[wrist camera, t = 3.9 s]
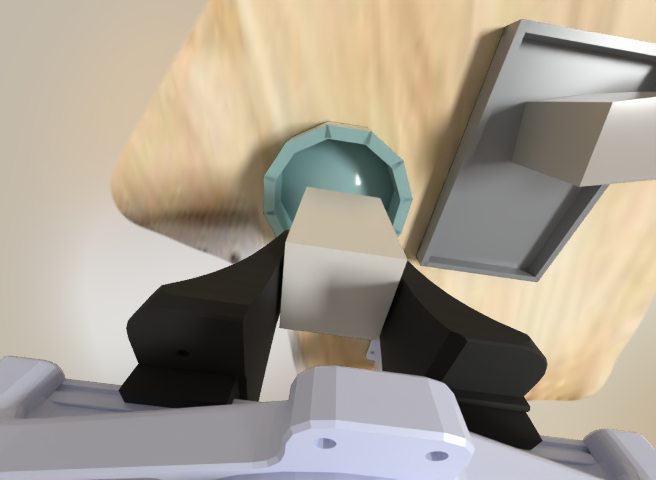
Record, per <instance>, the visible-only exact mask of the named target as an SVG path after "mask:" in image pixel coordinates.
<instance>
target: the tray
mask: <svg viewBox="0 0 656 480" xmlns="http://www.w3.org/2000/svg"><path fill="white" fill-rule="evenodd" d="M655 91H656V44H654V43H649V42H643V41H638V40H632V39H627V38H622V37H616V36H611V35H605V34H600V33H594V32H589V31H583V30H578V29H573V28H567V27H562V26H556V25H551V24H545V23H540V22H534V21H529V20H524V19H521V20H519V21H516V22H514V23H512V24H510V25H507V26H506V27H505V29H504V32H503V35H502V37H501V40H500V42H499V45H498V47H497V50H496V52H495V55H494V58H493V60H492V63H491V65H490V68H489V70H488V73H487V76H486V78H485V81H484V83H483V86H482V88H481V91H480V94H479V96H478V99H477V101H476V104H475V106H474V109H473V111H472V114H471V117H470V119H469V122H468V124H467V127H466V129H465V132H464V135H463V137H462V140H461V142H460V145H459V147H458V150H457V152H456V155H455V158H454V160H453V163H452V165H451V168H450V170H449V173H448V176H447V178H446V181H445V183H444V186H443V188H442V191H441V193H440V196H439V199H438V201H437V204H436V206H435V209H434V211H433V214H432V217H431V219H430V222H429V224H428V227H427V229H426V232H425V235H424V237H423V240H422V242H421V245H420V247H419V250H418V252H417V255H416V257H417V259H418V261H419V263H420V265H421V266H427V267H434V268H441V269H448V270H455V271H462V272H469V273H476V274H483V275H490V276H497V277H504V278H511V279H518V280H525V281H532V282H538V281H539V280H540V278H541V277H542V275H543V274H544V273H545V271H546V270H547V269H548V267H549V266H550V265H551V263H552V262H553V261H554V259H555V258H556V256H557V255H558V254H559V252H560V251H561V250H562V248H563V247H564V246H565V244H566V243H567V242H568V240H569V239H570V237H571V236H572V235H573V233H574V232H575V231H576V229H577V228H578V227H579V225H580V224H581V223H582V221H583V220H584V218H585V217H586V216H587V214H588V213H589V212H590V210H591V209H592V208H593V206H594V205H595V204H596V202H597V201H598V199H599V198H600V197H601V195H602V194H603V193H604V191H605V190H606V189H607V187H608V186H609V185H610V184H604V185H593V186H583V187H578V186H576V185H573V184H570V183H567V182H565V181H562V180H559V179H556V178H553V177H551V176H548V175H545V174H542V173H540V172H537V171H534V170H531V169H529V168H526V167H523V166H520V165H517V164H515V163H512V162H511V161H512V157H513V153H514V149H515V145H516V141H517V137H518V133H519V129H520V124H521V120H522V116H523V112H524V108H525V104H526V102H527V101H534V100H542V99H550V98H558V97H566V96H574V95H581V94H589V93H619V92H655Z"/></svg>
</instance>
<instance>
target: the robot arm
mask: <svg viewBox="0 0 656 480" xmlns="http://www.w3.org/2000/svg"><path fill="white" fill-rule="evenodd" d="M289 231H290V230H285V231H283V232H282V233H281V234H280V235H279V236H277V237H276V238H275V239H274V240H273V241H271V242H270V243H269V244H267V245H266V246H265V247H263V248H262V249H260V250H259V251H257V252H256V253H254V254H253V255H251V256H249V257H247V258H246V259H244V260H242V261H240V262H238V263H235V264H233V265H231V266H228V267H226V268H224V269H221V270H218V271H216V272H213V273H210V274H207V275H203V276H200V277H196V278H193V279H189V280H184V281H180V282H175V283H170V284H166V285H162V286H161V287H160V288H159V289H157V290H156V291H155V292H154V293H153V294H152V295H151V296H150V297H149V298H148V300H146V302H145V303H144V304H143V305H142V306H141V307H140V308H139V309H138V310H137V311H136V312H135V313H134V314H133V316H132V317H131V318H130V319H129V320H128V323H127V327H126V329H127V334H128V338H129V341H130V343H131V346H132V348H133V351H134V353H135V356H136V358H137V361H138V363H139V364H138V365H137V366H136V368H135V369H134V370H133V372H132V373H131V374H130V376H129V377H128V378H127V379H126V381H125V382H124V383H123V385H113V384H106V383H97V382H89V381H80V380H72V379H65V375H64V373H63V371H62V369H61V368H60V367H59V366H58V365H57V364H55V363H53V362H50V361H46V360H40V359H32V358H23V357H15V356H6V357H4V358H3V359H1V360H0V480H656V450H655V449H654V448H653V447H652V446H651V444H650V443H649V442H648V441H647V440H646V439H645V438H644V437H643V436H642V434H639V433H637V432H630V431H622V430H614V429H599V430H595V431H593V432H591V433H590V434H588V435H587V436H586V437H584V439H583V441H582V440H574V439H565V438H557V437H549V436H541V435H539V433H538V432H537V430H536V428H535V427H534V425H533V424H532V422H531V420H530V418H529V417H528V415H527V414H526V412H528V411H529V410H530V406H529V404H528V402H527V401H526V399H525V398H524V396H525V395H526V394H527V393H528V392H529V391H530V390H531V389H532V388H533V387H534V386H535V385H536V384H537V383H538V382H539V381H540V379H541V378H542V377H543V376H544V374H545V371H546V368H547V360H546V358H545V356H544V355H543V354H542V352H541V351H540V350H539V349H538V347H537V346H536V345H535V344H534V342H533V341H532V340H531V338H530V337H529V336H528V335H527V334H525V333H522V332H520V331H518V330H515V329H513V328H511V327H509V326H506V325H504V324H502V323H499V322H497V321H495V320H493V319H491V318H489V317H487V316H485V315H483V314H481V313H479V312H478V311H476V310H474V309H472V308H470V307H468V306H467V305H465V304H463V303H462V302H460V301H459V300H457V299H455V298H454V297H452V296H451V295H449V294H448V293H446V292H445V291H443V290H442V289H441V288H439V287H438V286H436V285H435V284H434V283H432V282H431V281H430V280H429V279H427V278H426V277H425V276H424V275H423V274H422V273H420V272H419V271H418V270H417V269H416V268H415V267H414V266H413V265H412V264H411V263H410V262H408V261H407V262H406V265H405V268H404V271H403V273H402V276H401V279H400V281H399V284H398V287H397V290H396V292H395V295H394V298H393V300H392V303H391V306H390V309H389V311H388V314H387V317H386V319H385V322H384V325H383V327H382V330H381V333H380V336H379V338H378V341H375V340H371V343H370V345H369V348H368V351H367V354H366V358H367V359H368V360H373V361H374V363H375V370H369V369H362V368H354V367H346V366H338V365H328V366H315V367H313V368H310V369H308V370H306V371H303V372H301V373H300V374H298V375H297V377H296V378H295V380H294V382H293V383H292V385H291V388H290V395H289V400H286V401H272V402H258V401H259V397H260V392H261V388H262V383H263V379H264V375H265V370H266V366H267V361H268V357H269V353H270V349H271V344H272V340H273V336H274V332H275V328H276V324H277V321H278V318H279V315H280V312H281V298H282V284H283V269H284V255H285V242H286V239H287V237H288V234H289Z"/></svg>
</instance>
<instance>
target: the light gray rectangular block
mask: <svg viewBox="0 0 656 480" xmlns="http://www.w3.org/2000/svg"><path fill="white" fill-rule="evenodd" d="M511 162H512V163H515V164H517V165H520V166H523V167H526V168H529V169H531V170H534V171H537V172H540V173H542V174H545V175H548V176H551V177H553V178H556V179H559V180H562V181H565V182H567V183H570V184H573V185H576V186H578V187H583V186H593V185H604V184H614V183H625V182H635V181H646V180H656V91H655V92H619V93H589V94H581V95H574V96H566V97H558V98H550V99H542V100H534V101H527V102H526V104H525V108H524V112H523V116H522V120H521V124H520V129H519V133H518V137H517V141H516V145H515V149H514V153H513V157H512V161H511Z"/></svg>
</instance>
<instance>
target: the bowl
mask: <svg viewBox="0 0 656 480" xmlns="http://www.w3.org/2000/svg"><path fill="white" fill-rule="evenodd" d="M306 187H312V188H319V189H325V190H332V191H338V192H345V193H351V194H358V195H364V196H370V197H377V198H380V199H381V201H382V203H383V206H384V208H385V210H386V212H387V215H388V217H389V219H390V221H391V224H392V226H393V228H394V230H395V233H396V235H397V237H398V236H399V235H400V234H401V232H402V229H403V226H404V223H405V220H406V217H407V214H408V211H409V208H410V205H411V202H412V200H413V198H412V195H411V190H410V186H409V182H408V178H407V174H406V170H405V166H404V162H403V160H402V159H401V158H400V157H399V156H398V155H397V154H396V153H395V152H393V151H392V150H391V149H390V148H389V147H388V146H387V145H386V144H385V143H384V142H382V141H381V140H380V139H379V138H378V137H377V136H376V135H375V134H374V133H373V132H372V131H371V130H370V129H369V128H368V127H363V126H357V125H350V124H344V123H338V122H332V121H327V122H325V123H323V124H321V125H318V126H316V127H314V128H312V129H309V130H307V131H305V132H303V133H300V134H298V135H296V136H293V137H292V138H291V139H290V140H288V141H287V142H286V143H285V145H284V147H283V148H282V150H281V151H280V153H279V154H278V156H277V157H276V159H275V160H274V162H273V163H272V165H271V166H270V168H269V169H268V171H267V172H266V174H265V175H264V209H263V214H264V215H265V217H266V219H267V221H268V222H269V224H270V226H271V228H272V229H273V231H274V233H275V235H276V236H279V235H280V234H281V233H282V232H283V231H285V230H290V229H291V226H292V224H293V221H294V218H295V216H296V213H297V211H298V208H299V205H300V203H301V200H302V198H303V195H304V192H305V190H306Z"/></svg>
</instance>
